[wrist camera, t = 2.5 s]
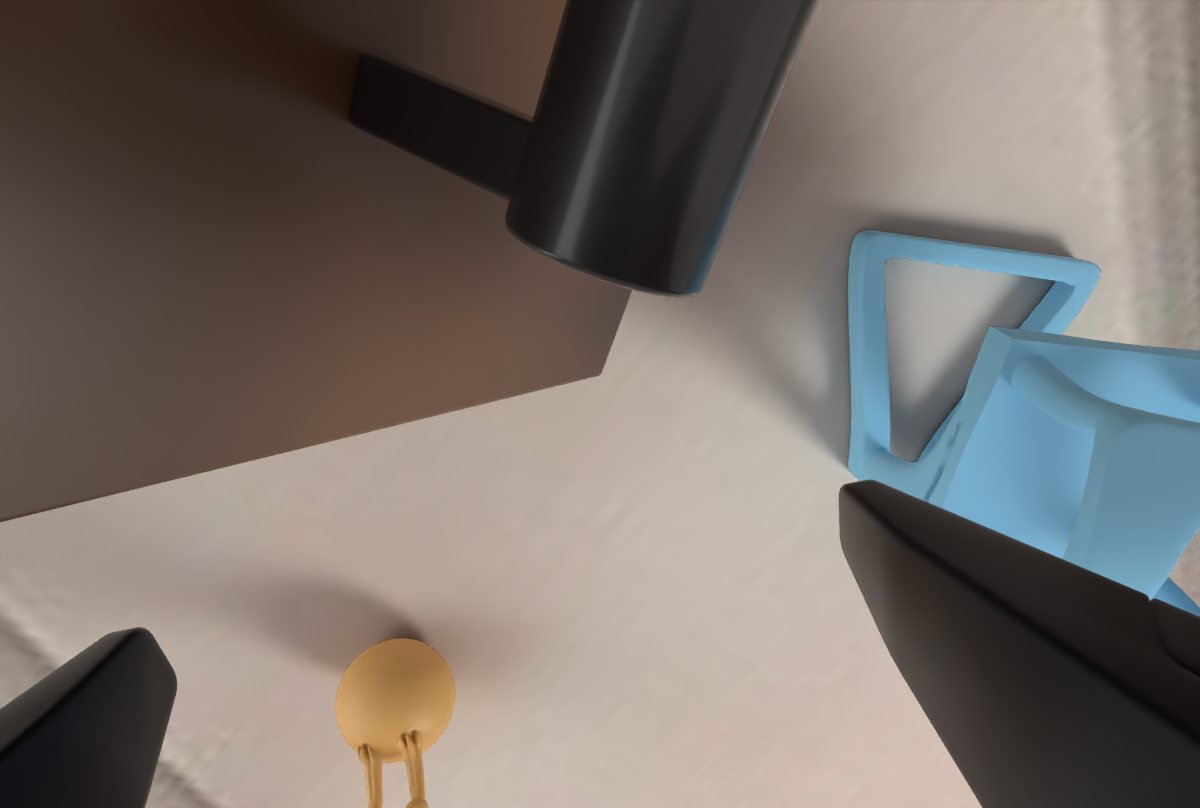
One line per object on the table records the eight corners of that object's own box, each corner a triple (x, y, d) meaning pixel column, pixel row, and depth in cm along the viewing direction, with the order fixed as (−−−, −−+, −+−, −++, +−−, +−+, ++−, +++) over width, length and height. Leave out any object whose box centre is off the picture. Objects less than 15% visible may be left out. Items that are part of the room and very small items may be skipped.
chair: (784, 467, 25) (992, 781, 14) (855, 225, 21) (1205, 390, 10) (986, 483, 26) (1323, 785, 15) (1084, 257, 22) (1613, 436, 12)
